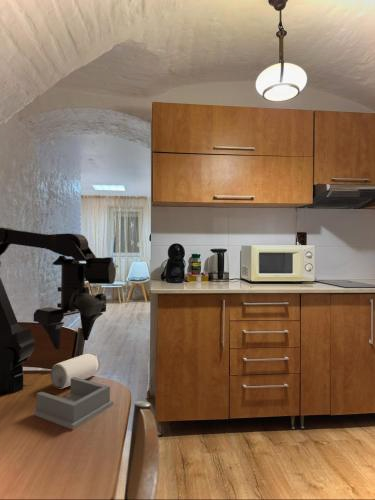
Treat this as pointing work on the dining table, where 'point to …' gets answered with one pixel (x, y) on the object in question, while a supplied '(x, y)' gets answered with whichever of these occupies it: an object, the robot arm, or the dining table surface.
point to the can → (74, 370)
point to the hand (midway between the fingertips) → (72, 344)
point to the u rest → (74, 403)
